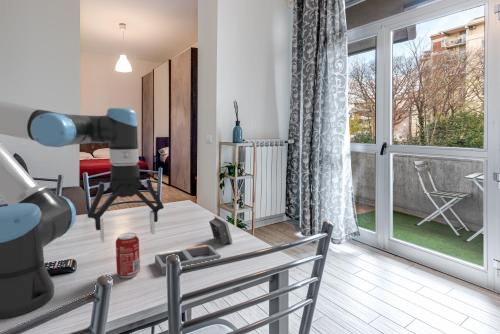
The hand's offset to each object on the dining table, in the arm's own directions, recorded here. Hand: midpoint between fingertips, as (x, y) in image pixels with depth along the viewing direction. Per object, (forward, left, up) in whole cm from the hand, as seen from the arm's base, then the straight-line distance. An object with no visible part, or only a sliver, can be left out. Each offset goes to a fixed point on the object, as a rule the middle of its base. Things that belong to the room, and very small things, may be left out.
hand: (128, 236), depth 90 cm
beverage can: (0, 0, -12) cm, 12 cm away
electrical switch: (+35, +13, -12) cm, 39 cm away
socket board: (+18, 0, -12) cm, 21 cm away
